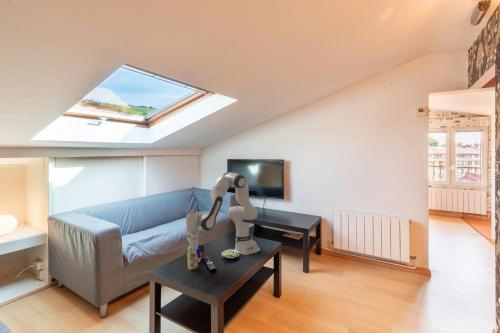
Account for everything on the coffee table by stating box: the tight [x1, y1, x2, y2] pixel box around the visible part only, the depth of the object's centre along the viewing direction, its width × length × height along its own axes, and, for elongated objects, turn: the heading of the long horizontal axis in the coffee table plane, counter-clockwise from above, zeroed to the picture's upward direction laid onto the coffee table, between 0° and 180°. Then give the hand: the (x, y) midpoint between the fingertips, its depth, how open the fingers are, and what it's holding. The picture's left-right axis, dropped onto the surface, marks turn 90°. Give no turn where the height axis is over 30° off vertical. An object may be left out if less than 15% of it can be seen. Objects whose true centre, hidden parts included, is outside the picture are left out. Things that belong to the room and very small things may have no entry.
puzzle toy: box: [186, 244, 205, 264], centre depth 202 cm, size 10×10×10 cm
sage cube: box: [187, 244, 197, 255], centre depth 188 cm, size 5×5×5 cm
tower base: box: [187, 261, 198, 271], centre depth 188 cm, size 6×6×5 cm
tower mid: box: [187, 253, 198, 263], centre depth 188 cm, size 6×6×5 cm
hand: (192, 250), depth 188 cm, fingers closed on sage cube, 5 cm apart
